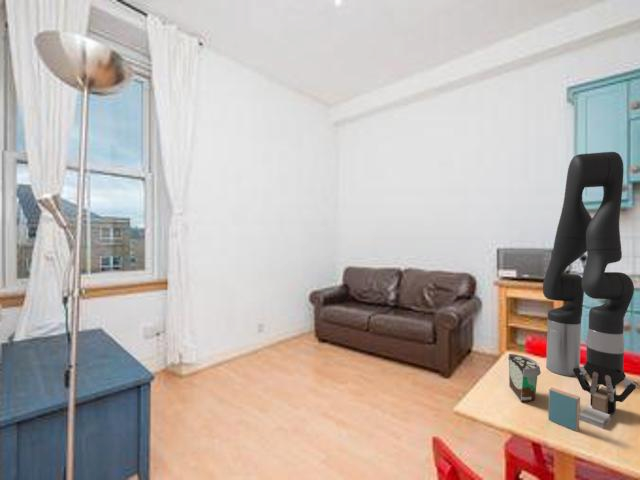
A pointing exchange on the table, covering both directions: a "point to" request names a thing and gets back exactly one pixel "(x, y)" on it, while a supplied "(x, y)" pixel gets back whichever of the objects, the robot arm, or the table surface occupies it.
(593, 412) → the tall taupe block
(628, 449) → the table surface
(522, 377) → the food container
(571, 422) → the tile
